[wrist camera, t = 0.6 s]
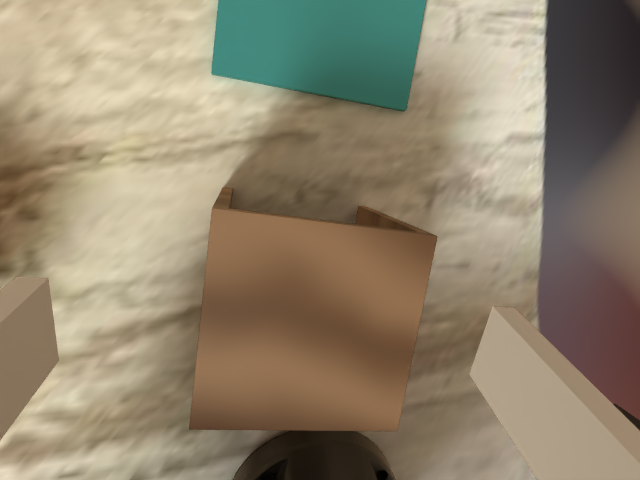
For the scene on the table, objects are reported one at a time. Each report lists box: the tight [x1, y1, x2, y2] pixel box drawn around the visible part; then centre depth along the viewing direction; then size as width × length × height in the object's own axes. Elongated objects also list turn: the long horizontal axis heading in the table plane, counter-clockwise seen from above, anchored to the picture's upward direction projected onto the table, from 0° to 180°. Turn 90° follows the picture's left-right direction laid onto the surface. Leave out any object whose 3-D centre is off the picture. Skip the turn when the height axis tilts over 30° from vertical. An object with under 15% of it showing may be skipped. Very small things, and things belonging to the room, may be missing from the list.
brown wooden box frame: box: [189, 188, 437, 431], centre depth 26 cm, size 11×11×12 cm
